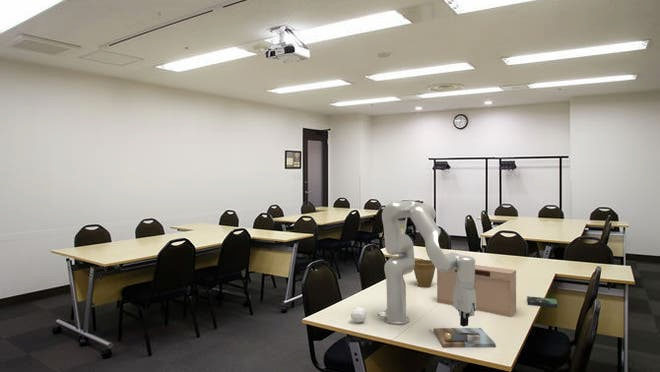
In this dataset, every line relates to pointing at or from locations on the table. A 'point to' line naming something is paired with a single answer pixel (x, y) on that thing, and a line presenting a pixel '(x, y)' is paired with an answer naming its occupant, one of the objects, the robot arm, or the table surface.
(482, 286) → the box
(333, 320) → the table surface
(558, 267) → the table surface
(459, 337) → the lock bar
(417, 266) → the plant pot
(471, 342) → the plate
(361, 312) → the white ball
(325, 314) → the table surface
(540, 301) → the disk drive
